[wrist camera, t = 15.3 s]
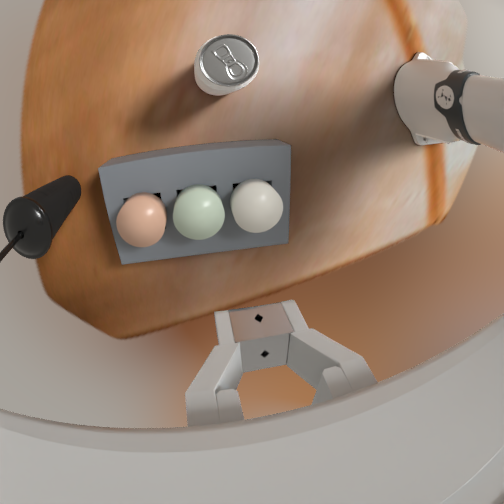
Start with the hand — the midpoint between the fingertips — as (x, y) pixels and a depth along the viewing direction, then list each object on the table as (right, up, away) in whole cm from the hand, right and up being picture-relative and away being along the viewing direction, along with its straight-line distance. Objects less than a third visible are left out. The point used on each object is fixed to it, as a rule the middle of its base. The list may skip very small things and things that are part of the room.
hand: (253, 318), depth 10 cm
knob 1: (-15, +10, +27) cm, 32 cm away
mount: (-8, +11, +28) cm, 32 cm away
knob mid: (-8, +11, +28) cm, 31 cm away
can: (-5, +26, +20) cm, 34 cm away
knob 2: (-1, +12, +29) cm, 31 cm away
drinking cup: (-28, +12, +23) cm, 38 cm away
